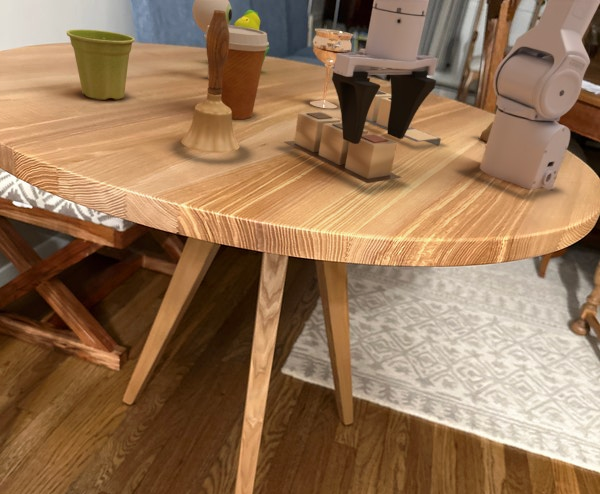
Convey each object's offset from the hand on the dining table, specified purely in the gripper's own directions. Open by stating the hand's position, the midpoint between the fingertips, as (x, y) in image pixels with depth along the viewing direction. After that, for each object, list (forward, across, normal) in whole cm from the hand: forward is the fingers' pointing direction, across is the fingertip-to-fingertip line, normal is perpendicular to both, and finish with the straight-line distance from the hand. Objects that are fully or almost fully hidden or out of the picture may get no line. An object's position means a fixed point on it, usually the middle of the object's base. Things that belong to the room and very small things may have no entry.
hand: (373, 138), depth 67 cm
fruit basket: (+5, -23, -62) cm, 66 cm away
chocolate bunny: (+5, -37, -4) cm, 38 cm away
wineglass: (+5, -21, -32) cm, 39 cm away
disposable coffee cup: (+5, 0, -30) cm, 30 cm away
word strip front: (+5, 0, -5) cm, 7 cm away
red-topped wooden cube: (+4, 0, 0) cm, 4 cm away
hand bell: (+5, +13, -15) cm, 20 cm away
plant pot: (+5, +15, -43) cm, 46 cm away
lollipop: (+5, -10, -53) cm, 54 cm away
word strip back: (+5, -21, -15) cm, 26 cm away
